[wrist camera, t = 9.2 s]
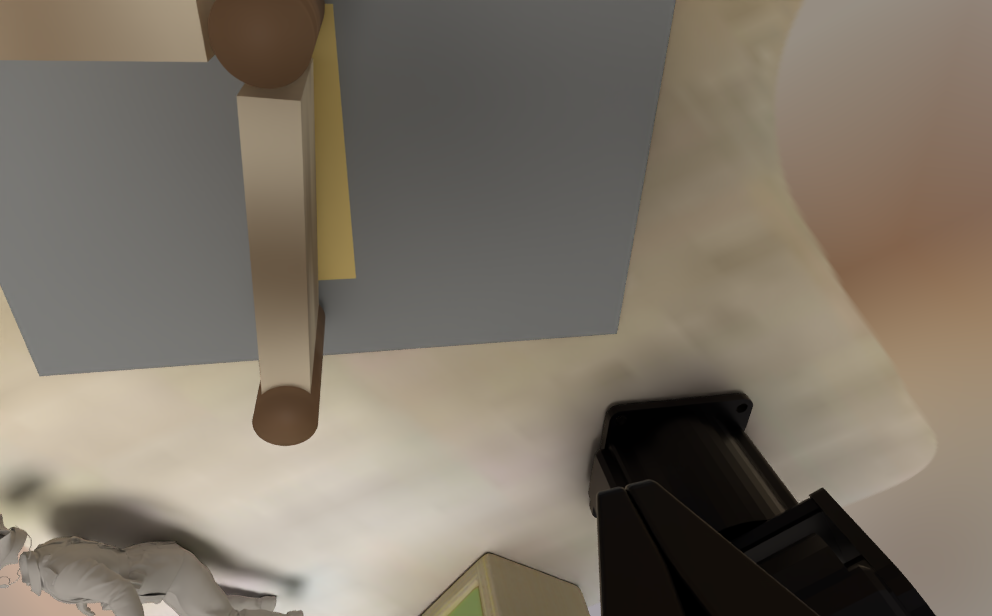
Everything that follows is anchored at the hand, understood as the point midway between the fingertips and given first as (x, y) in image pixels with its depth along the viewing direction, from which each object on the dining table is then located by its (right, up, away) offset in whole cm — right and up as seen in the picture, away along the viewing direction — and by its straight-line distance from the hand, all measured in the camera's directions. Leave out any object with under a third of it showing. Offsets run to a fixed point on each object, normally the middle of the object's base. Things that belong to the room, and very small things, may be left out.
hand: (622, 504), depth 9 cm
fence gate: (-8, +6, +9) cm, 13 cm away
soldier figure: (-15, -7, +17) cm, 24 cm away
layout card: (-7, +8, +9) cm, 14 cm away
